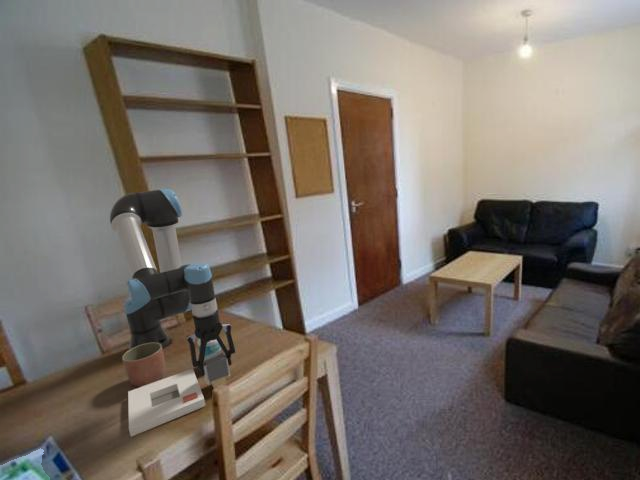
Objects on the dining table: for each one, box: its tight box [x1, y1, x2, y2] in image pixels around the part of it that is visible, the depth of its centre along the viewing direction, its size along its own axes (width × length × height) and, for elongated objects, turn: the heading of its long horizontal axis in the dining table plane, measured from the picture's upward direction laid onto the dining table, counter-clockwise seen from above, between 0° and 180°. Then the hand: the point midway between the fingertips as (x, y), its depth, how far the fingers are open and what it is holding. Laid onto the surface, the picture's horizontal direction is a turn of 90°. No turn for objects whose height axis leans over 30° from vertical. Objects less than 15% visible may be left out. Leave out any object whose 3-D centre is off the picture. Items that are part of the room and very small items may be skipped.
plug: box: [204, 350, 229, 389], centre depth 111 cm, size 6×6×10 cm
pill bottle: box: [197, 338, 222, 356], centre depth 123 cm, size 8×7×14 cm
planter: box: [121, 342, 166, 388], centre depth 119 cm, size 12×12×11 cm
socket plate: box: [127, 368, 207, 438], centre depth 106 cm, size 20×20×3 cm
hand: (218, 378), depth 112 cm, fingers closed on plug, 6 cm apart
